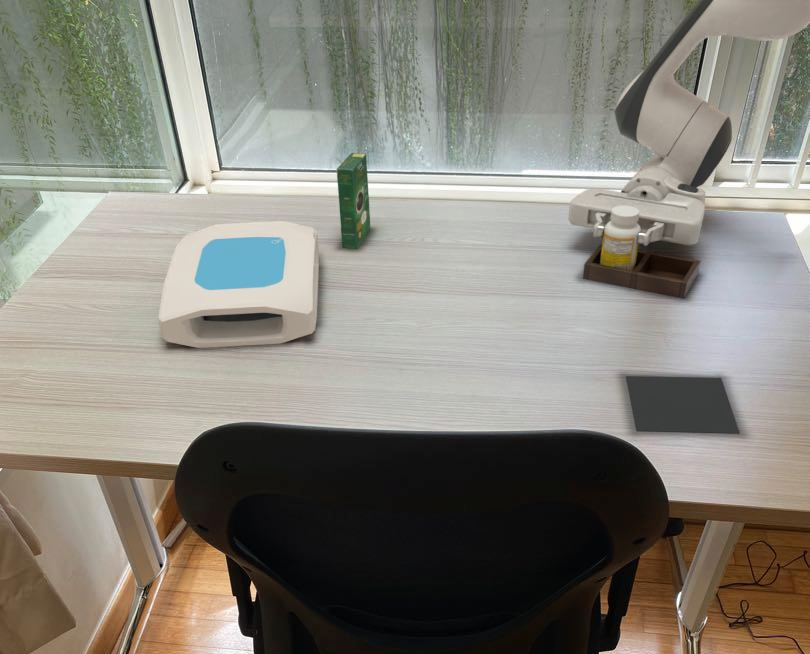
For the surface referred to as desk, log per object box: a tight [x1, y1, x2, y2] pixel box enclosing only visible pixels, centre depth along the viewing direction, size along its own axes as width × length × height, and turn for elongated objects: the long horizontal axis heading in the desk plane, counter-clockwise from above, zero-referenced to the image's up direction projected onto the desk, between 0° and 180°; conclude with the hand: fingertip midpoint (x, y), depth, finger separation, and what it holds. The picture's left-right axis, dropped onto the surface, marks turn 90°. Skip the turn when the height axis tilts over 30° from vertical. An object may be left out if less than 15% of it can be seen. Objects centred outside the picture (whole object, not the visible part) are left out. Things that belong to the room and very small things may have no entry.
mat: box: [625, 375, 741, 435], centre depth 108 cm, size 12×12×1 cm
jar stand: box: [582, 242, 701, 299], centre depth 132 cm, size 15×8×3 cm, turn 63°
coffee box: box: [336, 152, 371, 250], centre depth 142 cm, size 8×3×13 cm, turn 165°
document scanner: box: [157, 220, 320, 349], centre depth 130 cm, size 21×28×6 cm
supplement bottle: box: [600, 205, 641, 271], centre depth 131 cm, size 5×5×10 cm
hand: (620, 236), depth 129 cm, fingers closed on supplement bottle, 5 cm apart
